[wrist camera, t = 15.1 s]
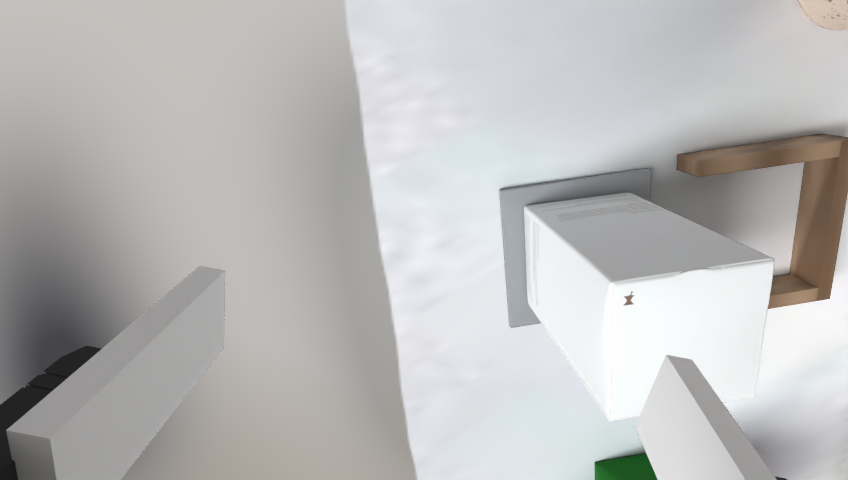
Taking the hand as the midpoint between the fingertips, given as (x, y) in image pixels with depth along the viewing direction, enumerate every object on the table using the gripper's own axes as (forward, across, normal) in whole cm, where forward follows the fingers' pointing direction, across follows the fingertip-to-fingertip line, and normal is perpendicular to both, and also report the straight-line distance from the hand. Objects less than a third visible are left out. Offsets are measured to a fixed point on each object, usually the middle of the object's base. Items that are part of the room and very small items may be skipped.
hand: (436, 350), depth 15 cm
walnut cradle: (+29, +24, -2) cm, 38 cm away
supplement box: (+26, +11, -6) cm, 29 cm away
